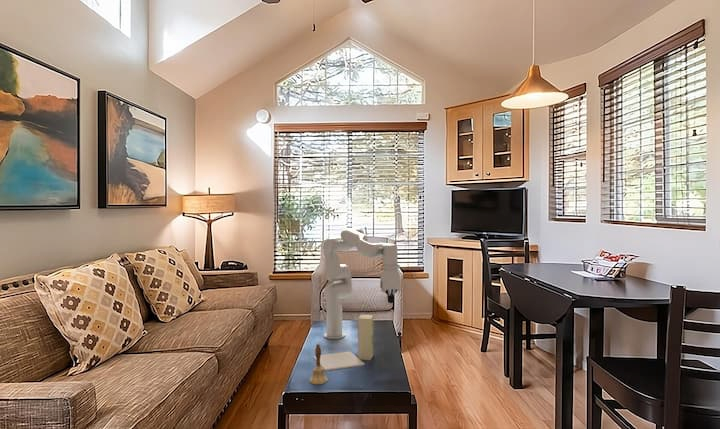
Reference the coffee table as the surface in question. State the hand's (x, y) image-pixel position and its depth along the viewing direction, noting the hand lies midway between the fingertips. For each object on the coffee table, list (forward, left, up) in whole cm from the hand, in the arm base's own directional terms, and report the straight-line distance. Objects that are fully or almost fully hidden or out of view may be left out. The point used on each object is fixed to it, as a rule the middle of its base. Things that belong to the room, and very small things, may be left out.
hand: (390, 302), depth 224 cm
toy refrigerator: (0, -14, -27) cm, 31 cm away
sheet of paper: (0, -29, -27) cm, 40 cm away
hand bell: (+20, -45, -27) cm, 56 cm away
